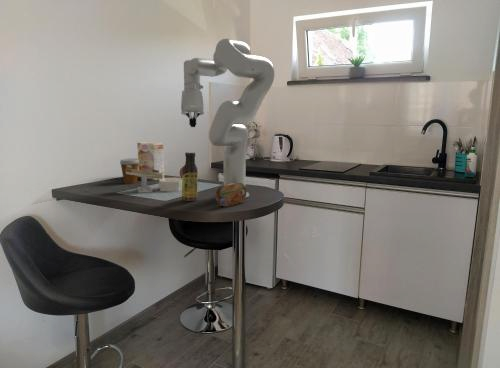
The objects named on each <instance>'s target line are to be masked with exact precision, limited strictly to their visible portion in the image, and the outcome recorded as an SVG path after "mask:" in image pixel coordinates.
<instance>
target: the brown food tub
mask: <svg viewBox="0 0 500 368" xmlns="http://www.w3.org/2000/svg"><path fill="white" fill-rule="evenodd" d="M119 163H120V167H121V172H122V178H123V183H124V184H136V183H137V182H138V176H137V175H129V174H126V166H127V165H131V166H132V169H136V170H139V168H138V163H139V161H138V158H121V159H120V161H119Z"/></svg>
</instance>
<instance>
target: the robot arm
mask: <svg viewBox="0 0 500 368" xmlns="http://www.w3.org/2000/svg"><path fill="white" fill-rule="evenodd" d="M214 50H215V51H214V53H213V56H212V57H213V59H209V58H202V57H201V58H200V57H193V58H191V59H187V60H185V61H184V62H183V90H182V91H181V102H180V107H181V108H180V109H181V112H180V113H181V115H184V116H186V117H187V118H188V119H189V126H190V128H195V127H196V126H197V119H198V117H199V116H202V115H204V114H205V113H204V112H205V111H204V99H203V98H204V97H203V92H202V90H203V89H204V85H202V84H201V77H202V76H203V77H211V78H212V77H218V76H221V75H223V74H224V75H225V73H226V72H227V71H229V72H230V73H231V74H233V76H235V77H238V78H246V79H253V80H252V81H251V82H250V83H248V84H247V85H246V86H245V87H244V89H243V91H242V93H241V95H240V96H239V97H240V98H239V99H237V100H233V99H232V100H225V101H223V102H222V103H221V104H220V105H219V106H218V108H217V111H216V114H215V115H214V117H213V120H212V123H211V125H210V127H209V130H208V140H209V142H210V143H211V144H212V145H213V146H215V147H226V148H225V150H224V153H223V185H227V184H232V183H242V184H243V185H244V186H245V187H246V168H247V167H246V160H247V159H246V157H247V146H248V140H249V131H248V127H246V125H249V124H251V123H252V122H253V120H254V119H255V117H256V115H257V113H258V111H259V110H260V107H261V105H262V102H263V100H265V97H266V96H267V94H268V92H269V91H270V89H271V87H272V86H273V83H274V80H275V67H274V66H273V63H272V62H271V61H270V60H269V59H268V58H267V57H263V56H259V55H254V54H252V53H251V49H250V46H249V45H248V44H247V43H246V42H244V41H241V40H236V39H231V38H223V39H221V40H219V41H218V42H217V44H216V46H215V49H214ZM201 89H202V90H201ZM192 113H193V114H192ZM192 115H193V116H192ZM249 196H250V194H249V192H248V191H246V197H245V199H246V198H248V197H249Z"/></svg>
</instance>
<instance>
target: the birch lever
mask: <svg viewBox="0 0 500 368" xmlns="http://www.w3.org/2000/svg"><path fill="white" fill-rule="evenodd" d="M126 174H129V175H137V177H139V176H142V174H147V177H152V178H159V179H162V178H163V175H162V173H159V170H153V172H150V171H143V170H139V169H138V170H136V169H132V166H131V165H127V166H126ZM159 179H158V180H159Z"/></svg>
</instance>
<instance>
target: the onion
mask: <svg viewBox="0 0 500 368" xmlns="http://www.w3.org/2000/svg"><path fill="white" fill-rule="evenodd" d="M183 167H184V165H183V166H182V167H181V168H180V169H179V176H180V178H182V175H183ZM197 173H198V174H199V171H198V169H197Z"/></svg>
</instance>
